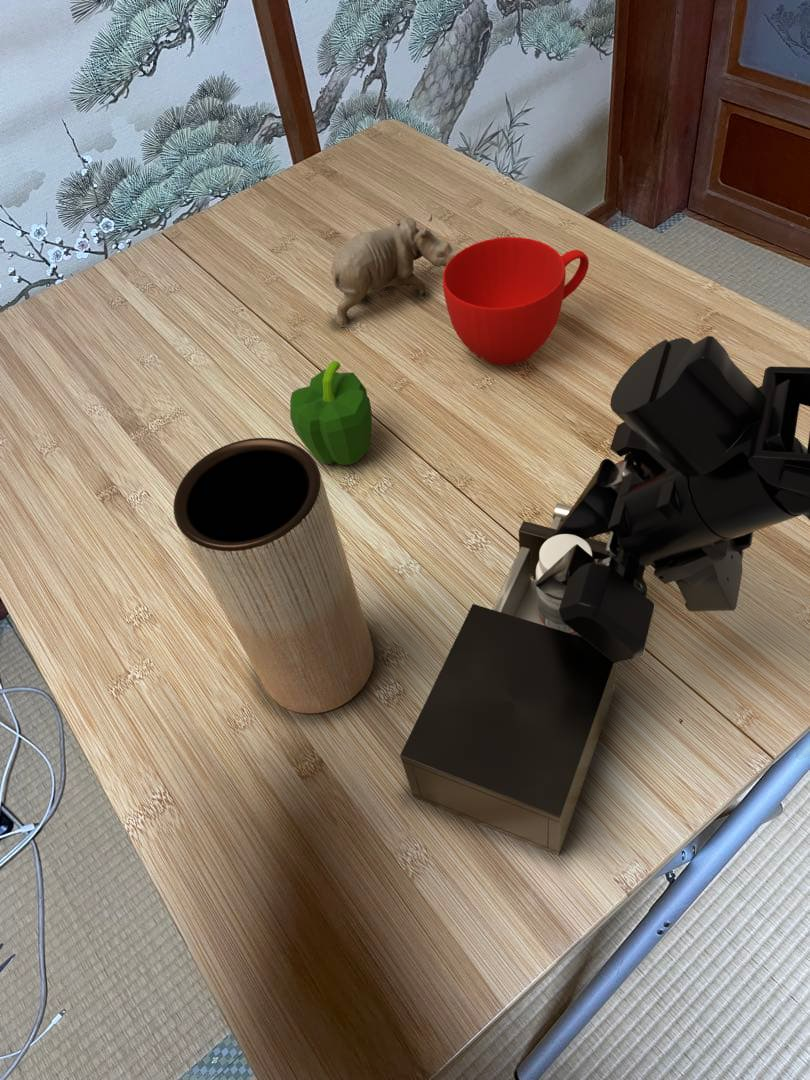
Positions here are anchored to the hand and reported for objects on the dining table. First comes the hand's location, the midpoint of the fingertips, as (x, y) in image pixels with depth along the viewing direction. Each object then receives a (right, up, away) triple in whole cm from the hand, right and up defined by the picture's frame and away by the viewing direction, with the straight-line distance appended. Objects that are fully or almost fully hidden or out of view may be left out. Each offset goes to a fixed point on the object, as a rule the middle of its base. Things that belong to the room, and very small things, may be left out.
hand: (548, 563), depth 65 cm
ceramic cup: (+2, +25, +31) cm, 39 cm away
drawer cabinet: (-3, -14, 0) cm, 15 cm away
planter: (-19, -9, +7) cm, 22 cm away
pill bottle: (+2, -4, +5) cm, 7 cm away
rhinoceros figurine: (-12, +32, +39) cm, 52 cm away
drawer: (+3, -4, +6) cm, 8 cm away
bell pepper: (-18, +11, +23) cm, 32 cm away
